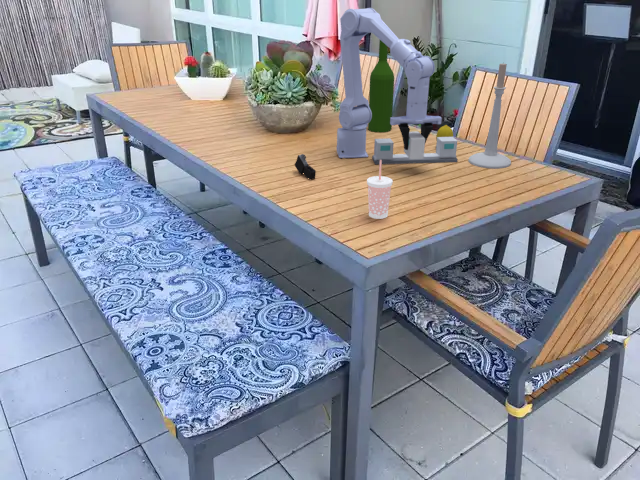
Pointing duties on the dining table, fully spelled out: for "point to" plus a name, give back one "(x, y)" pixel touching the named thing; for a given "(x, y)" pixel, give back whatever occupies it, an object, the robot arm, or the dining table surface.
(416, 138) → the block
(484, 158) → the candlestick
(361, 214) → the dining table surface
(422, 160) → the board
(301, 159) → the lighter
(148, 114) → the dining table surface
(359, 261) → the dining table surface
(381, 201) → the beverage cup
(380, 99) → the wine bottle
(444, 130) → the lemon
